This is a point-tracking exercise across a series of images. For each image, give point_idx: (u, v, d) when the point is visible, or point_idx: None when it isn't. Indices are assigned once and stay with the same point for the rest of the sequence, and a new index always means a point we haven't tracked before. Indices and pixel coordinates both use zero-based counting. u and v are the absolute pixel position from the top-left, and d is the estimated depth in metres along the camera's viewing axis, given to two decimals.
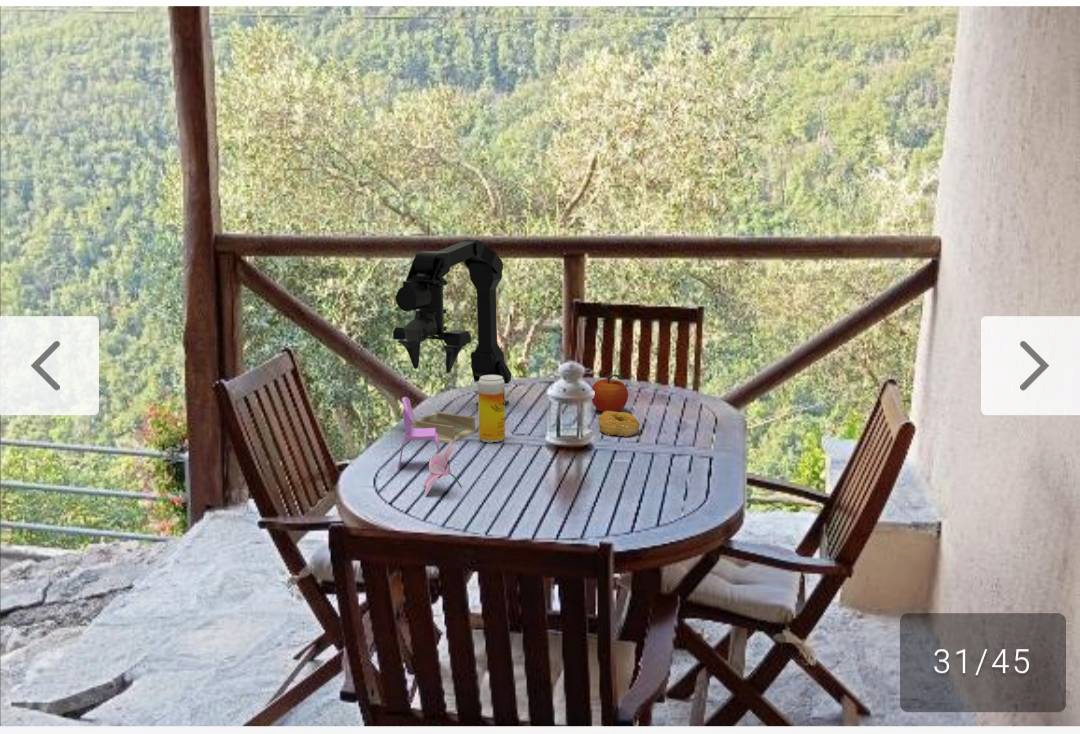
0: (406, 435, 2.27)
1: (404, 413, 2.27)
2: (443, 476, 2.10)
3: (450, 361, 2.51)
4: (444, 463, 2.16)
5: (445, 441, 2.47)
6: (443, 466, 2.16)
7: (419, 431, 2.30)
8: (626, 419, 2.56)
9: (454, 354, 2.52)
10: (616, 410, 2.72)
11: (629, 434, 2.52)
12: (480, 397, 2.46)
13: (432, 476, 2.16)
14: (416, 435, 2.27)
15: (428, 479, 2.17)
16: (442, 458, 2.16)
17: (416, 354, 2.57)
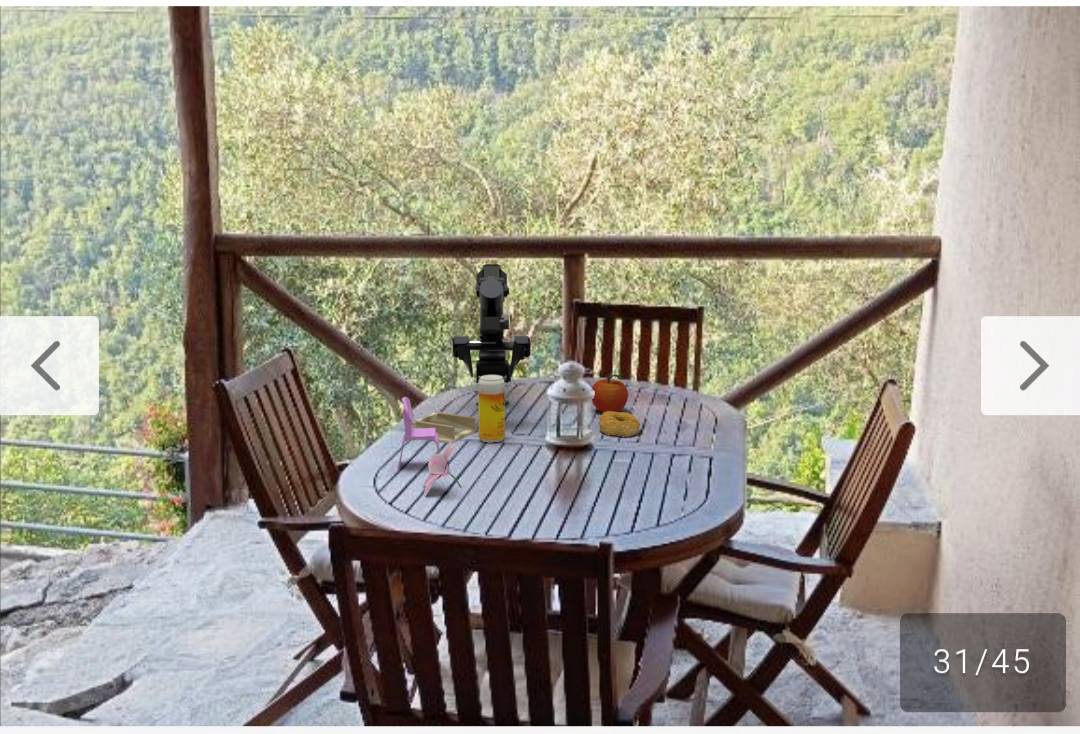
0: (406, 435, 2.27)
1: (404, 413, 2.27)
2: (443, 476, 2.10)
3: (515, 364, 2.56)
4: (443, 463, 2.16)
5: (445, 441, 2.47)
6: (443, 466, 2.16)
7: (419, 431, 2.30)
8: (627, 419, 2.56)
9: (515, 362, 2.58)
10: (616, 410, 2.72)
11: (630, 434, 2.52)
12: (480, 397, 2.46)
13: (432, 476, 2.16)
14: (416, 435, 2.27)
15: (428, 479, 2.16)
16: (441, 458, 2.16)
17: None
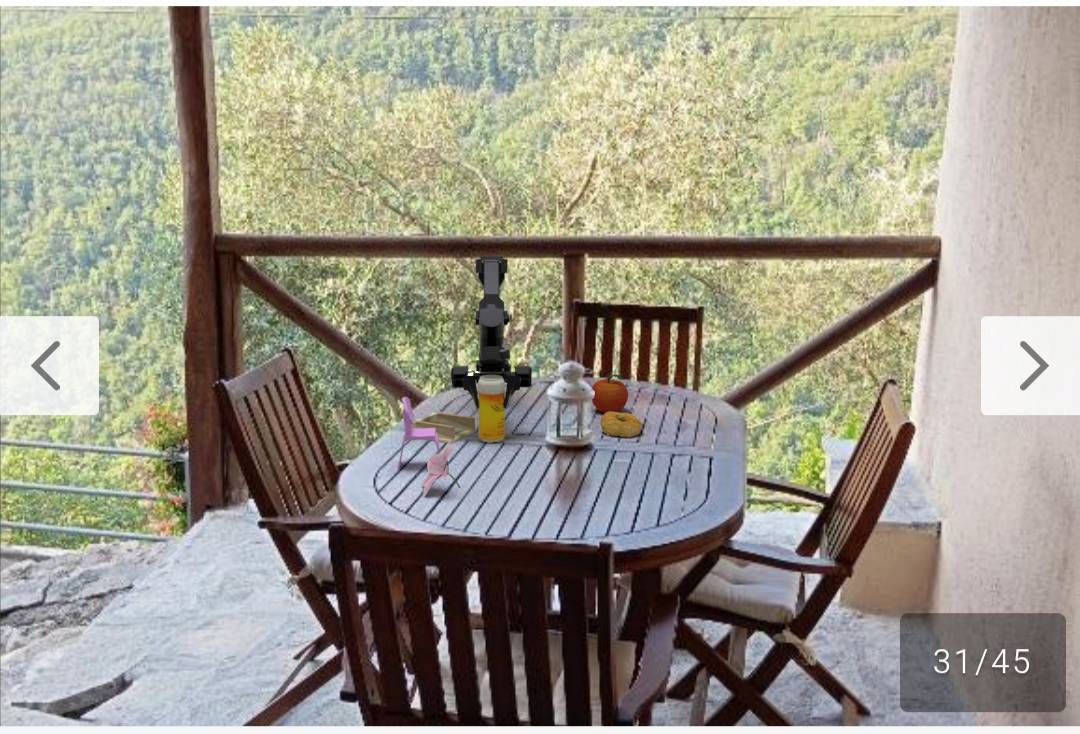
0: (406, 435, 2.27)
1: (404, 413, 2.27)
2: (442, 477, 2.10)
3: (509, 395, 2.48)
4: (443, 463, 2.15)
5: (445, 441, 2.47)
6: (442, 466, 2.15)
7: (419, 431, 2.30)
8: (628, 420, 2.56)
9: (510, 393, 2.50)
10: (616, 410, 2.72)
11: (631, 435, 2.51)
12: (480, 397, 2.46)
13: (430, 477, 2.16)
14: (416, 435, 2.27)
15: (426, 480, 2.16)
16: (440, 458, 2.16)
17: None
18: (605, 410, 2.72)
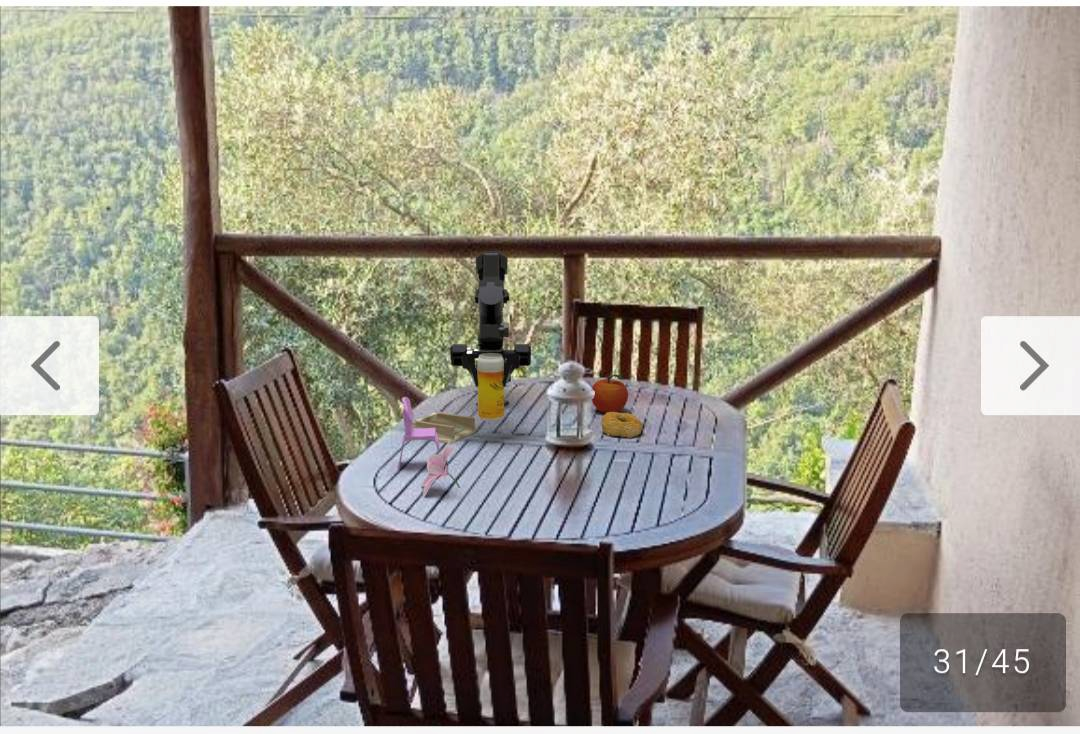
0: (406, 435, 2.27)
1: (404, 413, 2.27)
2: (442, 477, 2.10)
3: (509, 373, 2.47)
4: (442, 464, 2.15)
5: (445, 441, 2.47)
6: (441, 467, 2.15)
7: (419, 431, 2.30)
8: (629, 420, 2.56)
9: (510, 371, 2.49)
10: (616, 410, 2.72)
11: (632, 435, 2.51)
12: (479, 375, 2.45)
13: (430, 477, 2.16)
14: (416, 435, 2.27)
15: (426, 480, 2.16)
16: (440, 459, 2.16)
17: None
18: (605, 410, 2.72)
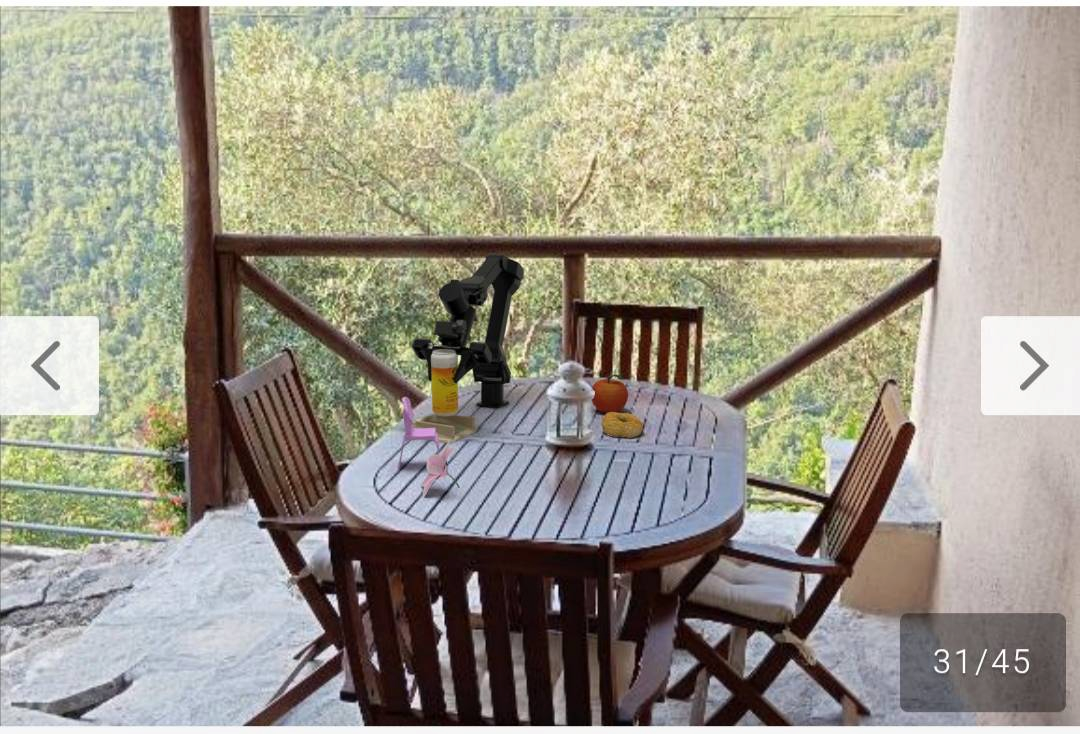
0: (406, 435, 2.27)
1: (404, 413, 2.27)
2: (441, 477, 2.10)
3: (461, 370, 2.50)
4: (442, 464, 2.15)
5: (445, 441, 2.47)
6: (441, 467, 2.15)
7: (419, 431, 2.30)
8: (629, 420, 2.55)
9: (465, 368, 2.52)
10: (616, 410, 2.72)
11: (633, 435, 2.51)
12: (431, 370, 2.50)
13: (430, 477, 2.15)
14: (416, 435, 2.27)
15: (426, 480, 2.16)
16: (439, 459, 2.16)
17: None
18: (605, 410, 2.72)
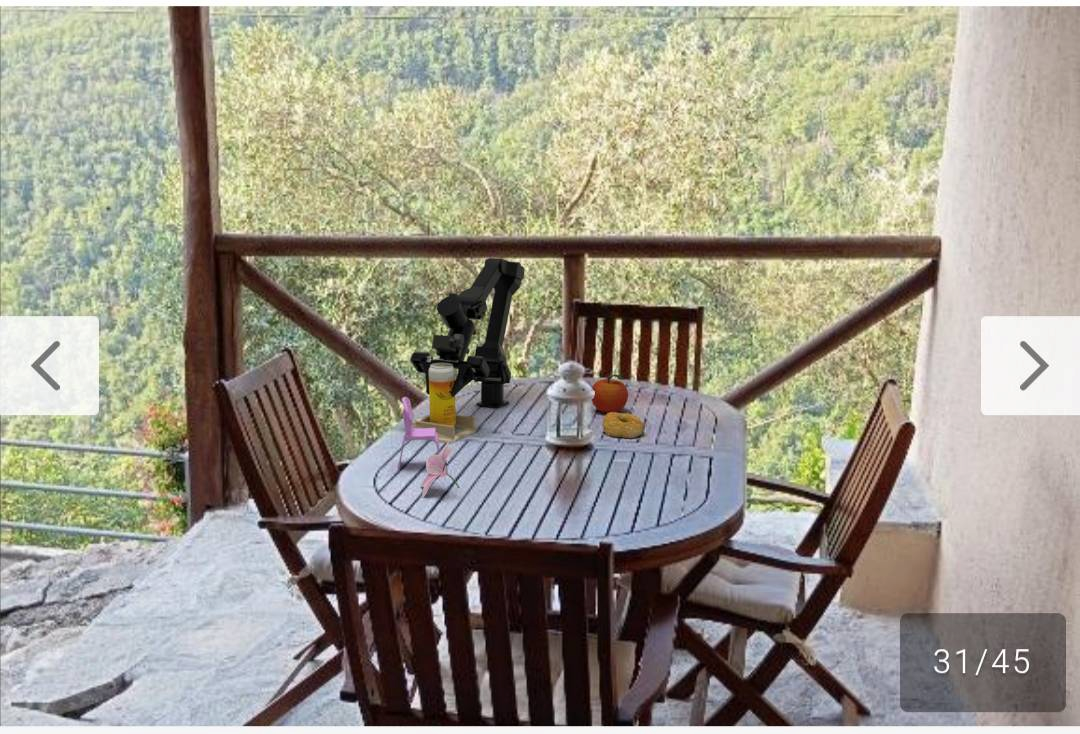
0: (406, 435, 2.27)
1: (404, 413, 2.27)
2: (441, 477, 2.09)
3: (458, 384, 2.51)
4: (441, 464, 2.15)
5: (445, 441, 2.47)
6: (440, 467, 2.15)
7: (419, 431, 2.30)
8: (630, 420, 2.55)
9: (463, 382, 2.53)
10: (616, 410, 2.72)
11: (633, 435, 2.51)
12: (429, 383, 2.52)
13: (429, 477, 2.15)
14: (416, 435, 2.27)
15: (425, 480, 2.16)
16: (439, 459, 2.16)
17: None
18: (605, 410, 2.72)
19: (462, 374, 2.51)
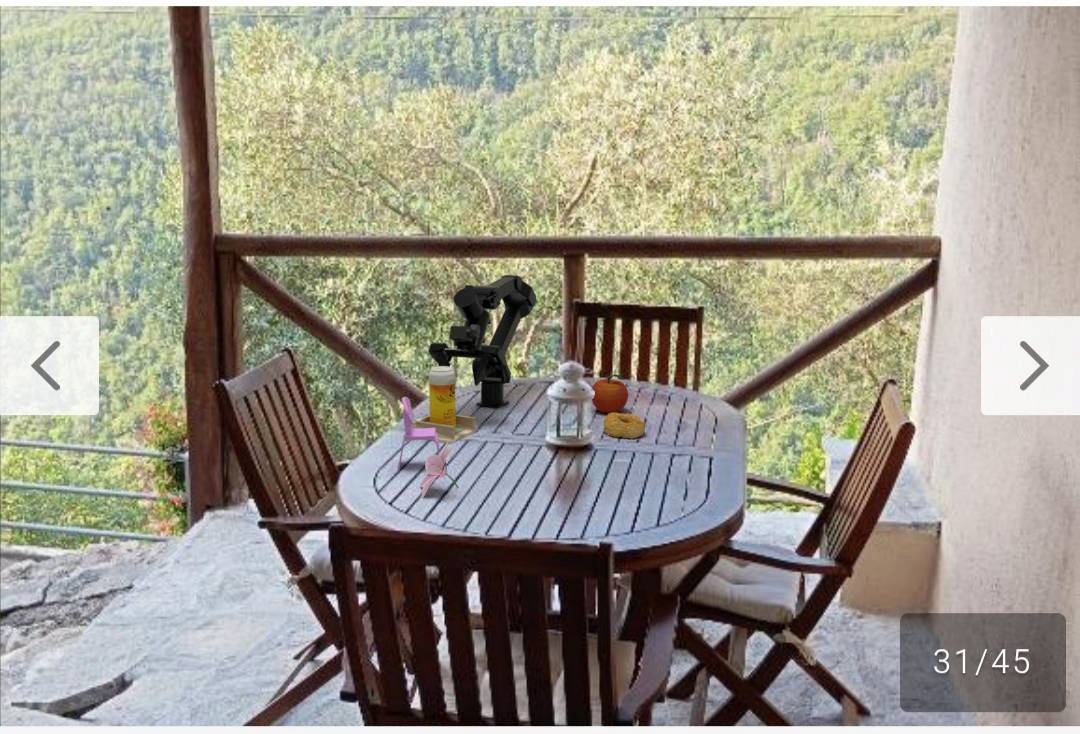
0: (406, 435, 2.27)
1: (404, 413, 2.27)
2: (440, 477, 2.09)
3: (481, 373, 2.59)
4: (441, 464, 2.15)
5: (445, 441, 2.47)
6: (440, 467, 2.15)
7: (419, 431, 2.30)
8: (631, 421, 2.55)
9: (485, 371, 2.61)
10: (616, 410, 2.72)
11: (635, 436, 2.50)
12: (429, 387, 2.52)
13: (429, 477, 2.15)
14: (416, 435, 2.27)
15: (425, 480, 2.16)
16: (438, 459, 2.16)
17: None
18: (605, 410, 2.72)
19: (484, 363, 2.59)
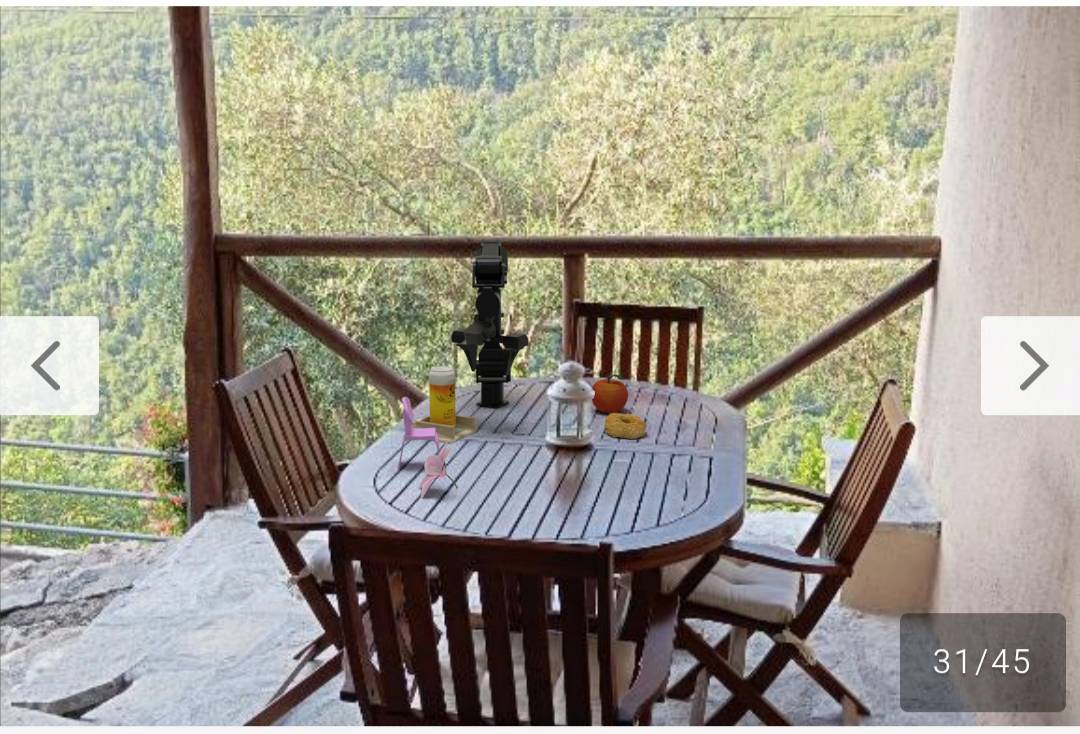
0: (406, 435, 2.27)
1: (404, 413, 2.27)
2: (440, 477, 2.09)
3: (508, 364, 2.56)
4: (440, 464, 2.15)
5: (445, 441, 2.47)
6: (439, 467, 2.15)
7: (419, 431, 2.30)
8: (632, 421, 2.55)
9: (512, 357, 2.57)
10: (616, 410, 2.72)
11: (636, 436, 2.50)
12: (429, 387, 2.52)
13: (428, 477, 2.15)
14: (416, 435, 2.27)
15: (424, 481, 2.16)
16: (437, 459, 2.15)
17: (473, 357, 2.61)
18: (605, 410, 2.72)
19: (508, 356, 2.54)
